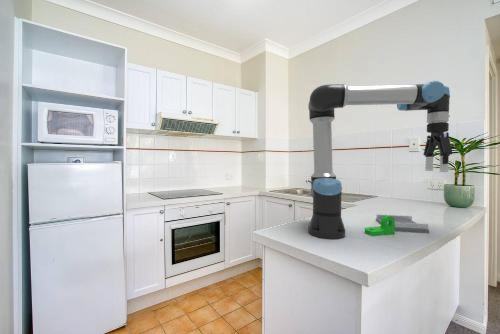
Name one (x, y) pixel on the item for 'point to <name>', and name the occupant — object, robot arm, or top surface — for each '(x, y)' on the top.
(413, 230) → the mounting board
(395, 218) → the rail guides
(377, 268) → the top surface
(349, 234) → the top surface
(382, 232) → the mechanical part
